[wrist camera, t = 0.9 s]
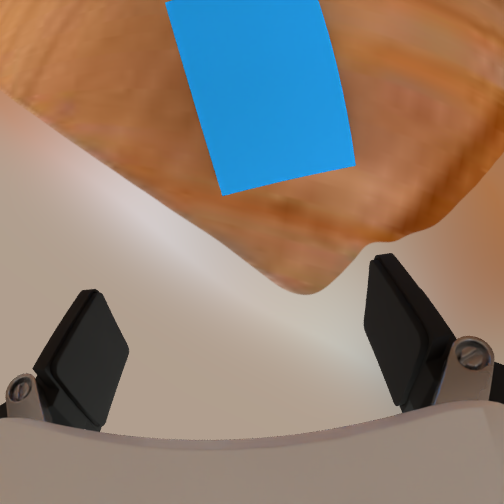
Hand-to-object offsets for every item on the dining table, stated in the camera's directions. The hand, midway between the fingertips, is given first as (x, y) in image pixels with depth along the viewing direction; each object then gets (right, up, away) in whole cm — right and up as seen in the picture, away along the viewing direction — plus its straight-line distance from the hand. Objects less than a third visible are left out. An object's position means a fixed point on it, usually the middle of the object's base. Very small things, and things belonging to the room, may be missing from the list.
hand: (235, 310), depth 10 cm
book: (+2, +23, +22) cm, 32 cm away
